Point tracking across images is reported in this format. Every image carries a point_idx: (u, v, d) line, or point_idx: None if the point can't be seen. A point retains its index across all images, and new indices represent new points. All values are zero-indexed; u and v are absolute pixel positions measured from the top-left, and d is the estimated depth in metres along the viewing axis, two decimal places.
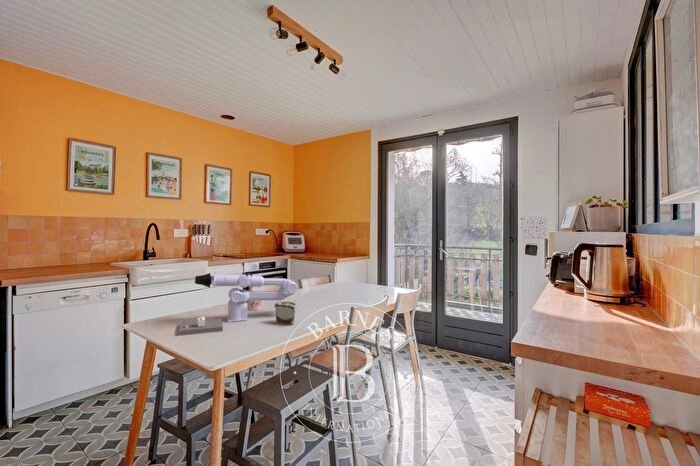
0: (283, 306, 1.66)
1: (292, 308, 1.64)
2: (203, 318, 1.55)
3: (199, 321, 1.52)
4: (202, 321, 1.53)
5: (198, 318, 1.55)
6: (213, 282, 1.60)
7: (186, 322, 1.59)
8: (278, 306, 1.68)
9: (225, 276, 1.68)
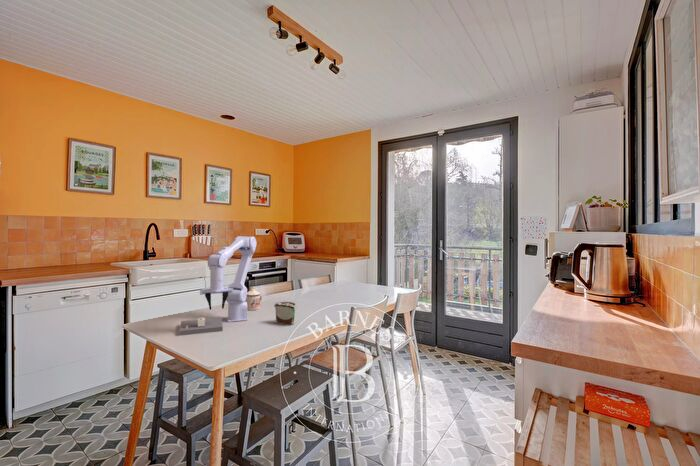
0: (283, 306, 1.66)
1: (292, 308, 1.64)
2: (203, 318, 1.55)
3: (199, 321, 1.52)
4: (202, 321, 1.53)
5: (198, 318, 1.55)
6: (233, 290, 1.60)
7: (186, 322, 1.59)
8: (278, 306, 1.68)
9: (216, 280, 1.54)
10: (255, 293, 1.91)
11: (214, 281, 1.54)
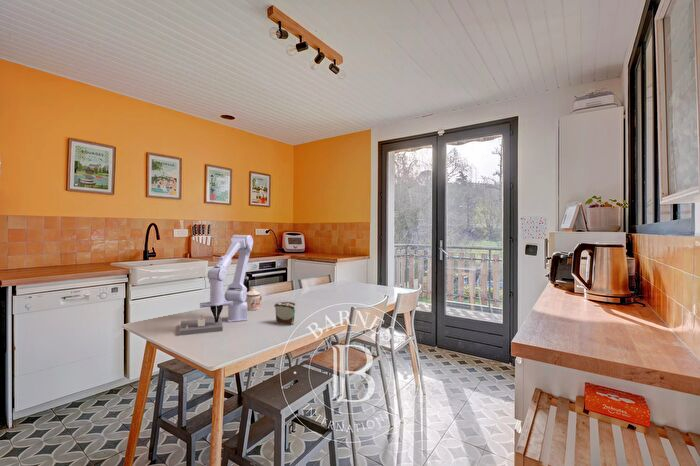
0: (283, 306, 1.66)
1: (292, 308, 1.64)
2: (203, 318, 1.55)
3: (199, 321, 1.52)
4: (202, 321, 1.53)
5: (198, 318, 1.55)
6: (232, 303, 1.60)
7: (186, 322, 1.59)
8: (278, 306, 1.68)
9: (216, 293, 1.54)
10: (255, 293, 1.91)
11: (214, 294, 1.54)
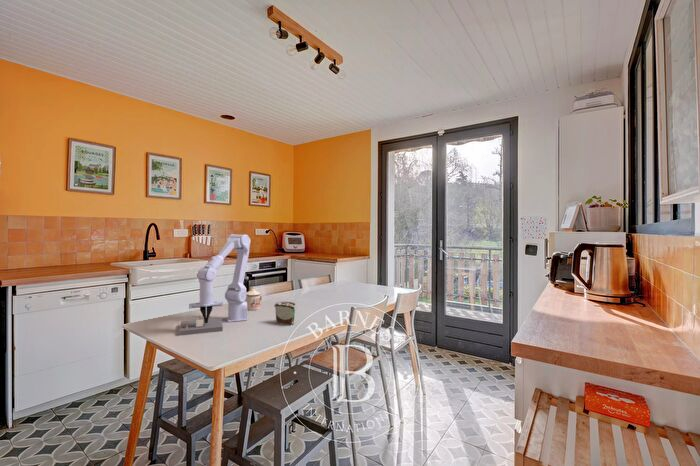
0: (283, 306, 1.66)
1: (292, 308, 1.64)
2: (201, 318, 1.55)
3: (197, 321, 1.52)
4: (200, 321, 1.52)
5: (196, 318, 1.54)
6: (222, 304, 1.58)
7: (186, 322, 1.59)
8: (278, 306, 1.68)
9: (204, 294, 1.52)
10: (255, 293, 1.91)
11: (203, 295, 1.52)
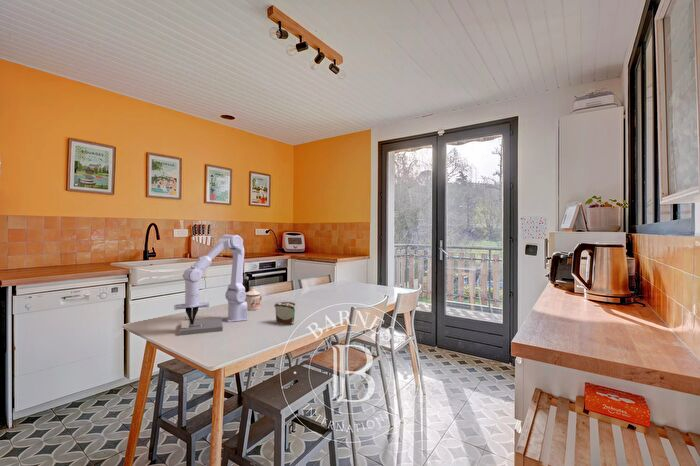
0: (283, 306, 1.66)
1: (292, 308, 1.64)
2: (187, 319, 1.52)
3: (183, 322, 1.50)
4: (186, 322, 1.50)
5: (182, 319, 1.52)
6: None
7: None
8: (278, 306, 1.68)
9: (189, 295, 1.50)
10: (255, 293, 1.91)
11: (189, 296, 1.50)
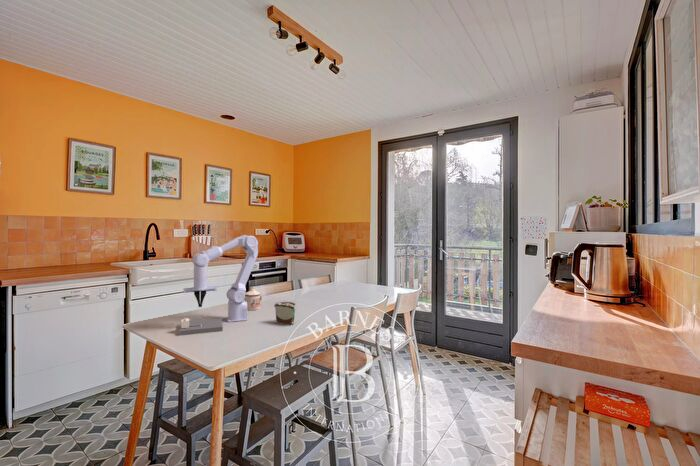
0: (283, 306, 1.66)
1: (292, 308, 1.64)
2: (187, 319, 1.52)
3: (183, 322, 1.50)
4: (186, 322, 1.50)
5: (182, 319, 1.52)
6: None
7: None
8: (278, 306, 1.68)
9: (196, 279, 1.57)
10: (255, 293, 1.91)
11: (197, 280, 1.57)
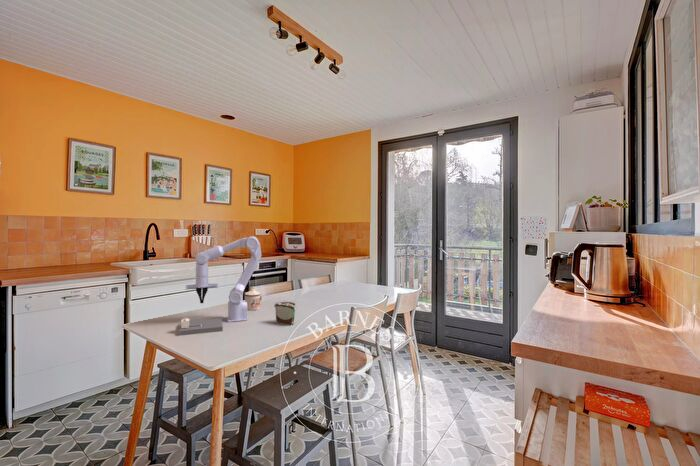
0: (283, 306, 1.66)
1: (292, 308, 1.64)
2: (187, 319, 1.52)
3: (183, 322, 1.50)
4: (186, 322, 1.50)
5: (182, 319, 1.52)
6: (217, 285, 1.70)
7: None
8: (278, 306, 1.68)
9: (196, 276, 1.65)
10: (255, 293, 1.91)
11: (199, 277, 1.64)
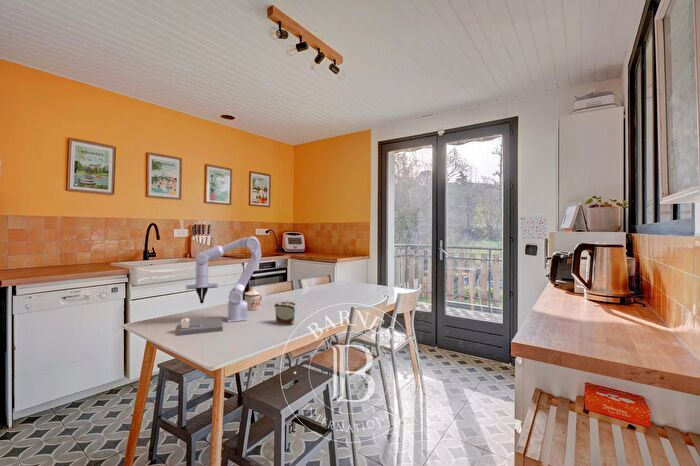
0: (283, 306, 1.66)
1: (292, 308, 1.64)
2: (187, 319, 1.52)
3: (183, 322, 1.50)
4: (186, 322, 1.50)
5: (182, 319, 1.52)
6: (217, 285, 1.70)
7: None
8: (278, 306, 1.68)
9: (196, 276, 1.65)
10: (255, 293, 1.91)
11: (199, 277, 1.64)
